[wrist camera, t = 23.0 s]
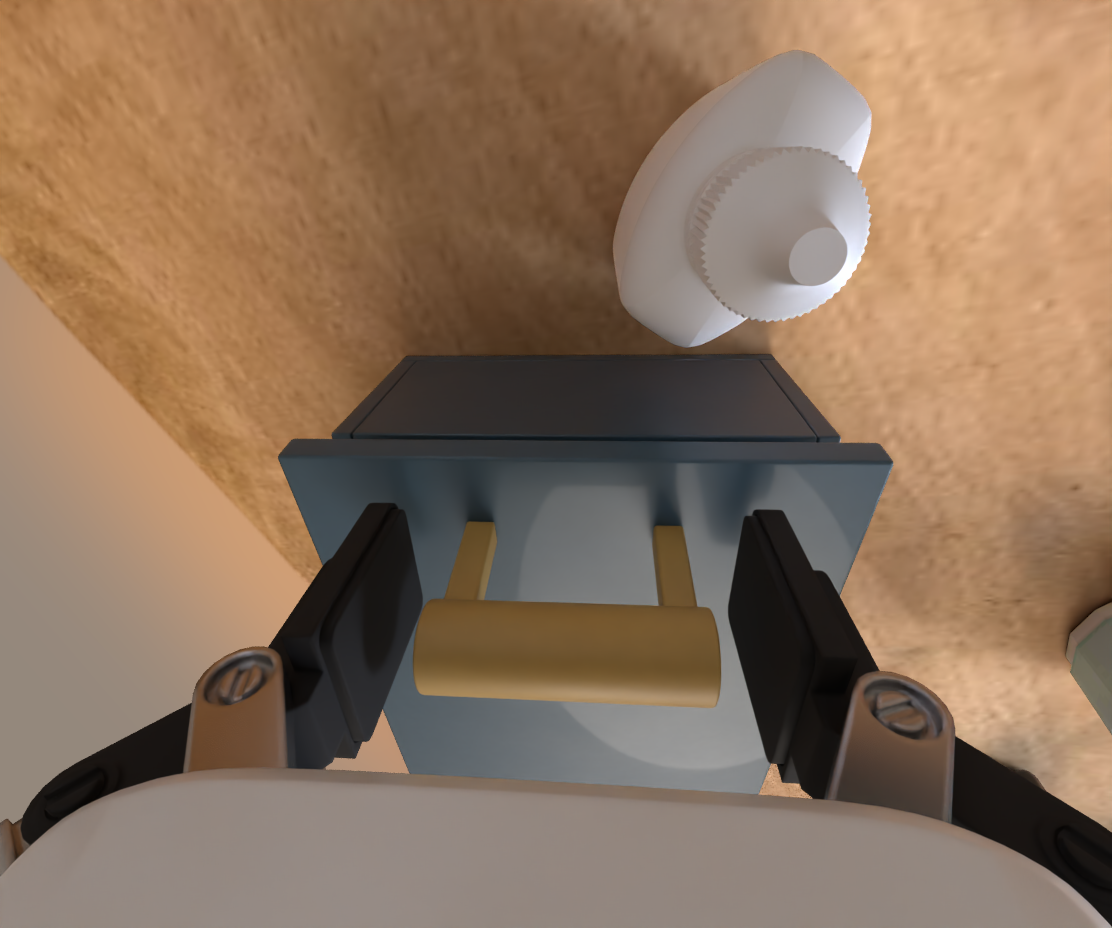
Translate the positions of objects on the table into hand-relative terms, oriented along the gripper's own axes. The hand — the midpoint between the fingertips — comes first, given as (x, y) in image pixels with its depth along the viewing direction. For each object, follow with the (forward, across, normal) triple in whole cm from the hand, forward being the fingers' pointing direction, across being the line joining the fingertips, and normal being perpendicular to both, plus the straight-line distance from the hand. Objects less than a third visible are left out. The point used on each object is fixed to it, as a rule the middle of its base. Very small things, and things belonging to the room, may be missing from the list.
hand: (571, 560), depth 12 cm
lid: (+2, 0, +6) cm, 6 cm away
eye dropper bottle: (+10, -3, -7) cm, 13 cm away
